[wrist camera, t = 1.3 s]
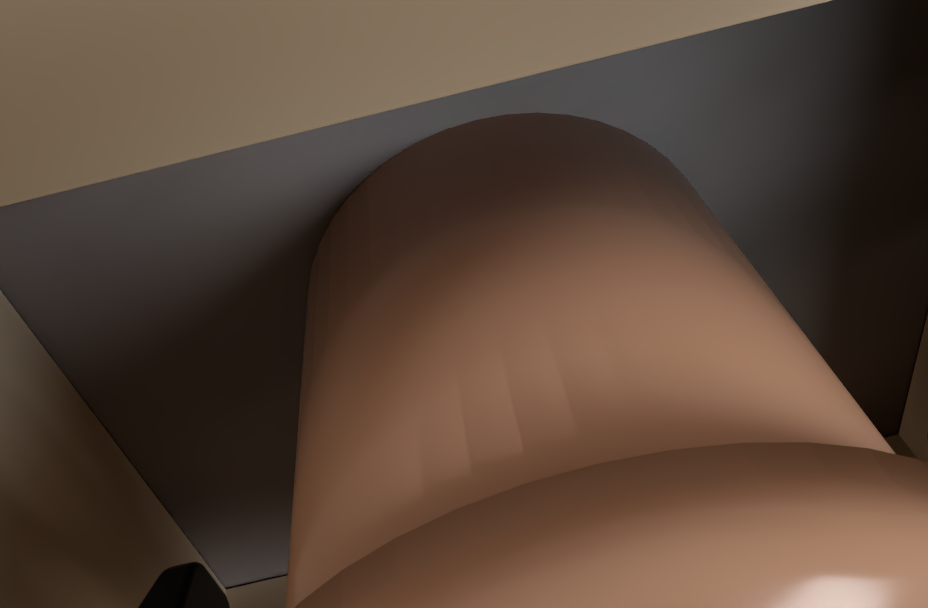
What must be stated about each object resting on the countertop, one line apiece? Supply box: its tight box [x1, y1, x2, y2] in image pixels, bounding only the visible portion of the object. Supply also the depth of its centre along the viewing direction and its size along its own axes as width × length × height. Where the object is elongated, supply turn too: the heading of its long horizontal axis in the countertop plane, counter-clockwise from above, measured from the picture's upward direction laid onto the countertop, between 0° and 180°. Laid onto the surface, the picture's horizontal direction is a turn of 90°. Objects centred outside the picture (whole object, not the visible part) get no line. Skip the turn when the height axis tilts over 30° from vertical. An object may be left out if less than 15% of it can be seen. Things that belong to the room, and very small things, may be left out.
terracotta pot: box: [285, 113, 928, 608], centre depth 9 cm, size 7×7×7 cm
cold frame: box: [0, 0, 928, 608], centre depth 10 cm, size 13×16×4 cm
